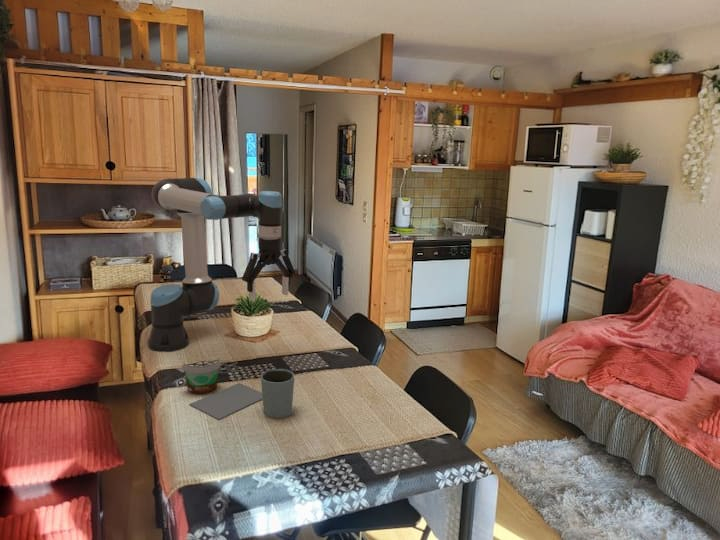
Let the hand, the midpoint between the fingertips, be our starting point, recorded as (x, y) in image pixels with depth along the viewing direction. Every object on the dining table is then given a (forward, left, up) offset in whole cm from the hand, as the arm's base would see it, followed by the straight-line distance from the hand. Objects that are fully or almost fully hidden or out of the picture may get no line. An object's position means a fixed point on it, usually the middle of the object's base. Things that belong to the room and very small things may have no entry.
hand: (269, 297), depth 187 cm
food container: (-3, -26, -28) cm, 38 cm away
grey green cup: (+24, -19, -28) cm, 41 cm away
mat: (+8, -24, -27) cm, 37 cm away
